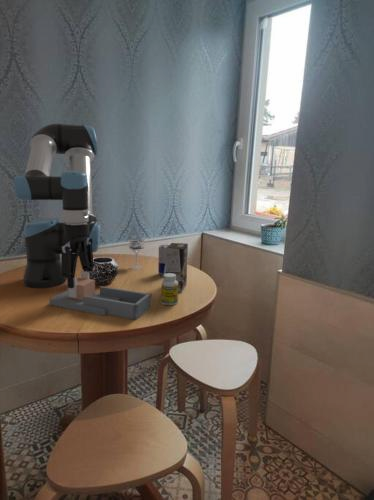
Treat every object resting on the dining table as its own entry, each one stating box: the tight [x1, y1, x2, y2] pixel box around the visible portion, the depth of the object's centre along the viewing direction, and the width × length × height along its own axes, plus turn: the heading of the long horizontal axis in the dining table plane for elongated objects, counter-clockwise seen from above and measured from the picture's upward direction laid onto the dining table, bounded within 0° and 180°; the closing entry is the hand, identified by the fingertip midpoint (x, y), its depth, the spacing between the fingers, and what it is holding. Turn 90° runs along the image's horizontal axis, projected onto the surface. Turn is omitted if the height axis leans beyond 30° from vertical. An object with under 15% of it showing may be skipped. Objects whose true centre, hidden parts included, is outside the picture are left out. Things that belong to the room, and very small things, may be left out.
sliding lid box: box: [48, 285, 152, 321], centre depth 112 cm, size 30×12×4 cm, turn 71°
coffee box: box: [166, 242, 189, 293], centre depth 129 cm, size 9×6×16 cm
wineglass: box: [128, 238, 145, 270], centre depth 153 cm, size 7×7×12 cm
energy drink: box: [157, 244, 170, 277], centre depth 144 cm, size 5×5×12 cm
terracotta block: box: [67, 277, 96, 301], centre depth 114 cm, size 6×6×5 cm
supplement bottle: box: [161, 273, 179, 306], centre depth 116 cm, size 5×5×10 cm
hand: (79, 293), depth 115 cm, fingers closed on terracotta block, 6 cm apart
